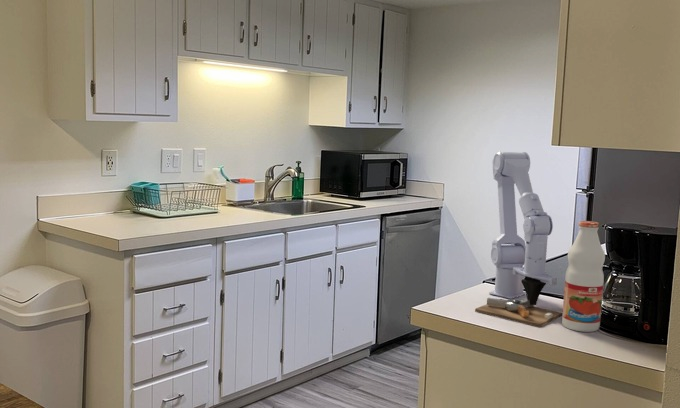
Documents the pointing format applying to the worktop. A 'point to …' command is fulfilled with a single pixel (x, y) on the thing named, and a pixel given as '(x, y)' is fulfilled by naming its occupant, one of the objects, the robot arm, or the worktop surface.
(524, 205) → the robot arm
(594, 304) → the fruit juice
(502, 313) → the board
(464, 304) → the worktop surface
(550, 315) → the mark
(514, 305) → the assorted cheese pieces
